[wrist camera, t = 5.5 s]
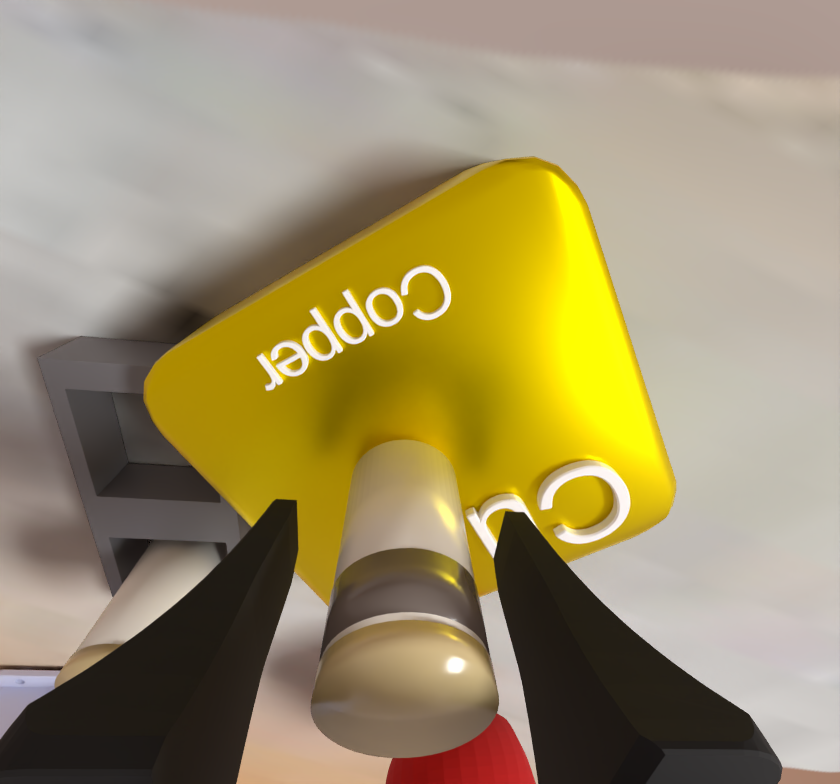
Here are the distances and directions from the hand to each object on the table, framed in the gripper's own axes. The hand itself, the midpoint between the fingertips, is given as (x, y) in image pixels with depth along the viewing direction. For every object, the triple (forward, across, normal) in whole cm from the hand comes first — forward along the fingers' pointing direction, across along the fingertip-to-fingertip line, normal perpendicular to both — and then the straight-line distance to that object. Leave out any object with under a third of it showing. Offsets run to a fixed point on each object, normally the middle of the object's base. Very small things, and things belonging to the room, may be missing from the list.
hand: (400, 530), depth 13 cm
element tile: (+7, -1, -1) cm, 7 cm away
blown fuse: (+2, 0, 0) cm, 2 cm away
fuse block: (+6, +10, +4) cm, 12 cm away
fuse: (+6, +10, +8) cm, 14 cm away
